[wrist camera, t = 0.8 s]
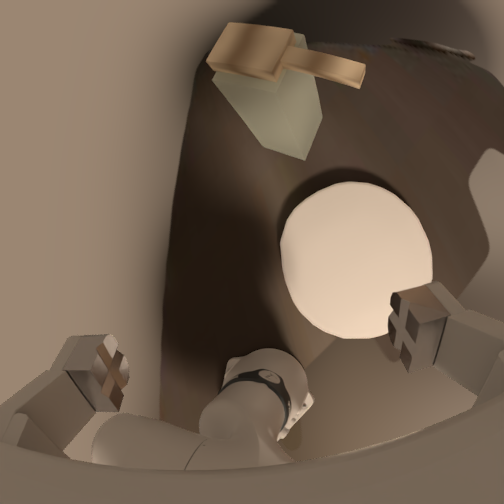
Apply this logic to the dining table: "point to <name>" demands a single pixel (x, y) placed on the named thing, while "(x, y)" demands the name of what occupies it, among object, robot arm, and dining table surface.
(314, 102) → the shelf block
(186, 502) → the robot arm
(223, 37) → the wooden paddle
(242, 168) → the dining table surface
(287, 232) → the plate
